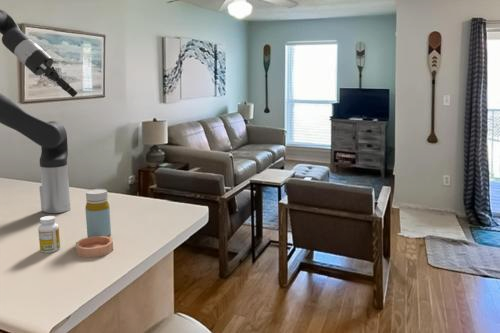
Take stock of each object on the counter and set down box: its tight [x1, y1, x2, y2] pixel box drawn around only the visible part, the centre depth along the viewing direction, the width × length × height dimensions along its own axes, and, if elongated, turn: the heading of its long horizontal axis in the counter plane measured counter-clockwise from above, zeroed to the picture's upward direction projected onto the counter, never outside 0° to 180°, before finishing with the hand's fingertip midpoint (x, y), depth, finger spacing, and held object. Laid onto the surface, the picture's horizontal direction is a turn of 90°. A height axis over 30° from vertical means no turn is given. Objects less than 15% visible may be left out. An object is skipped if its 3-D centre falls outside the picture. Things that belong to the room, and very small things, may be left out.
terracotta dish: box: [75, 236, 114, 258], centre depth 127 cm, size 10×10×2 cm
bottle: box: [85, 188, 112, 238], centre depth 135 cm, size 7×7×15 cm
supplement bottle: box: [37, 215, 61, 254], centre depth 126 cm, size 5×5×10 cm
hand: (72, 92), depth 141 cm, fingers open, 8 cm apart
